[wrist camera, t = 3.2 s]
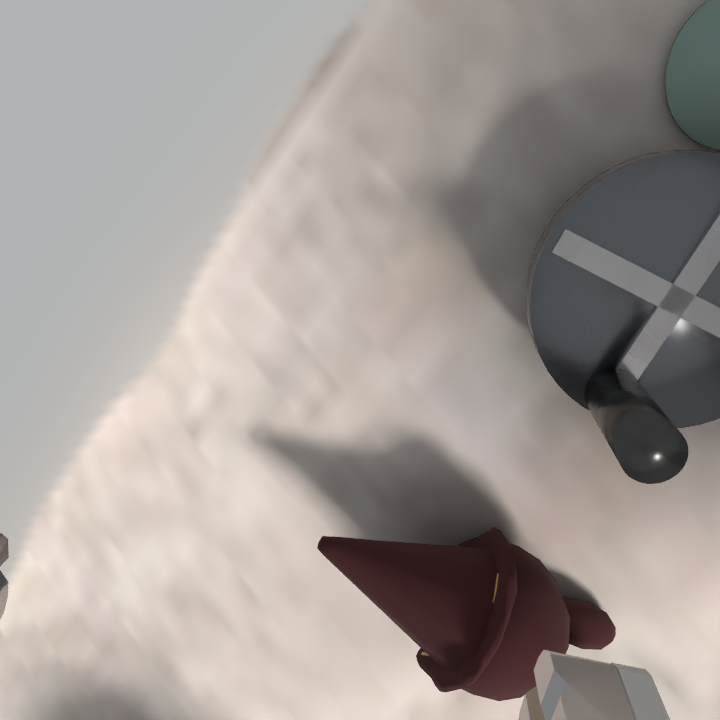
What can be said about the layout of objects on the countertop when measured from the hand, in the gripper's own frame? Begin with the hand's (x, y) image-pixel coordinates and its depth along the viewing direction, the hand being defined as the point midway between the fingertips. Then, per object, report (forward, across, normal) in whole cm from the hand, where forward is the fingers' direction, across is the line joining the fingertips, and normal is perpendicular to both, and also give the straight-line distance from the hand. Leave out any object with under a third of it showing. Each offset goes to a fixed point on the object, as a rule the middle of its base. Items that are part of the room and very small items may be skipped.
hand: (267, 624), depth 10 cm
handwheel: (+17, -11, -3) cm, 21 cm away
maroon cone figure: (+20, -7, +12) cm, 24 cm away
